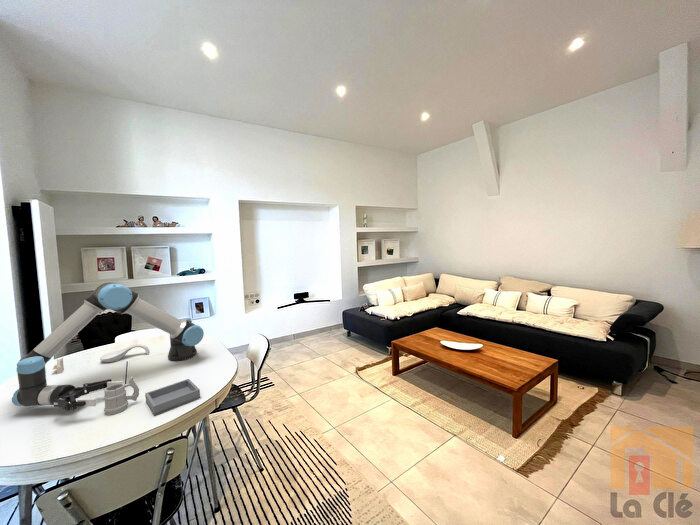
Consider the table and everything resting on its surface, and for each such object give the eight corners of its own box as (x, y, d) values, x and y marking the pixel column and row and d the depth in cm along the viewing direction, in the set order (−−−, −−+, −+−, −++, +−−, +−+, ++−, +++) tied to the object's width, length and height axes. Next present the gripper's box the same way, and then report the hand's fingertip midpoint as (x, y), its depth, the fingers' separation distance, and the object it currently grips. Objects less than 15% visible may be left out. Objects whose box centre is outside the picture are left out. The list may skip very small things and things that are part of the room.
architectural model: (53, 376, 150) (51, 362, 150) (55, 371, 156) (54, 358, 155) (62, 374, 152) (60, 360, 152) (64, 369, 158) (63, 356, 157)
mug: (102, 410, 115) (100, 382, 115) (138, 398, 124) (135, 372, 123) (105, 418, 110) (102, 388, 109) (142, 404, 119) (139, 377, 118)
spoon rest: (97, 366, 160) (96, 354, 160) (102, 359, 170) (101, 348, 170) (148, 356, 172) (147, 345, 172) (150, 350, 182) (149, 340, 182)
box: (189, 386, 133) (188, 378, 133) (200, 398, 123) (199, 389, 122) (145, 402, 121) (145, 393, 121) (154, 416, 110) (153, 406, 110)
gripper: (86, 388, 129) (133, 386, 129) (24, 422, 104) (82, 420, 104) (85, 372, 128) (131, 370, 128) (22, 403, 103) (80, 401, 103)
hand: (109, 392), depth 116 cm, fingers open, 13 cm apart
